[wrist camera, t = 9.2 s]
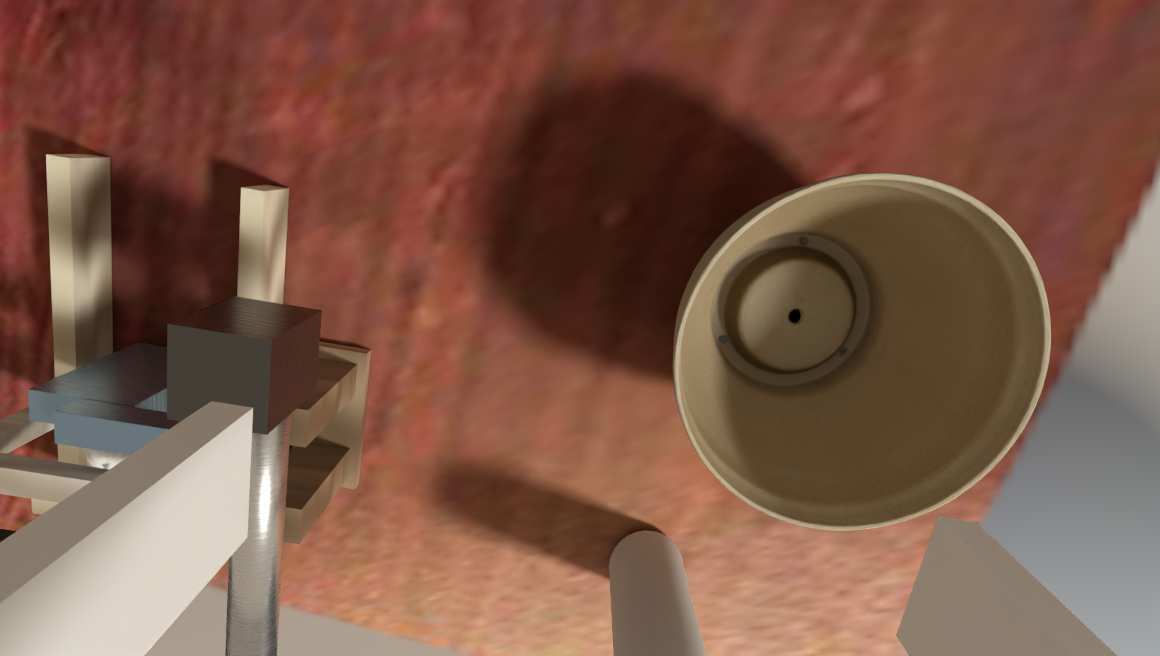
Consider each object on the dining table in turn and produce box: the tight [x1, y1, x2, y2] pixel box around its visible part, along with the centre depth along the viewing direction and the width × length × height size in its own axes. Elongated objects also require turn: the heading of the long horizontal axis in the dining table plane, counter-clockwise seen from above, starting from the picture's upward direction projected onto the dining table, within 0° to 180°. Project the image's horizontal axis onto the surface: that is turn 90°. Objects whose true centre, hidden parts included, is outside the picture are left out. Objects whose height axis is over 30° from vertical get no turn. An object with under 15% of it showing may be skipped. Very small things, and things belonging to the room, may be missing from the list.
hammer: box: [28, 296, 322, 656], centre depth 34 cm, size 21×14×13 cm, turn 170°
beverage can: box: [609, 530, 706, 656], centre depth 37 cm, size 5×5×12 cm
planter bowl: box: [673, 173, 1051, 531], centre depth 34 cm, size 16×16×11 cm
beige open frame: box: [0, 154, 289, 514], centre depth 35 cm, size 20×13×10 cm, turn 170°
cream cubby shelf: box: [284, 342, 371, 544], centre depth 37 cm, size 9×4×8 cm, turn 170°
